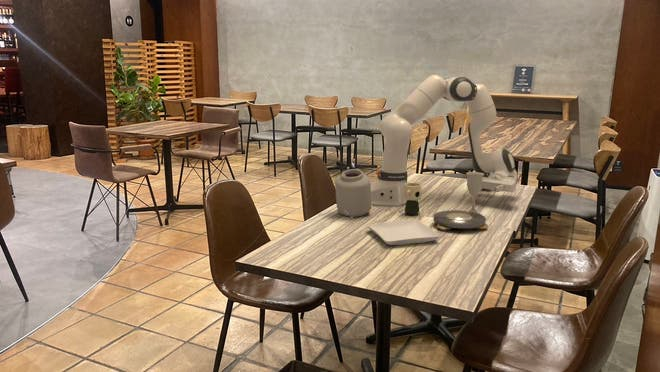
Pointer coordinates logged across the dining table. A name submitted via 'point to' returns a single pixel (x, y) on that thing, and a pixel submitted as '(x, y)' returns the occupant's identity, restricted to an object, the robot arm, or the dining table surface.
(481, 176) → the chalice
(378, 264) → the dining table surface
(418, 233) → the salad plate
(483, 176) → the cup
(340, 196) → the jar
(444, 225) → the plate
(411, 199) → the character mug
